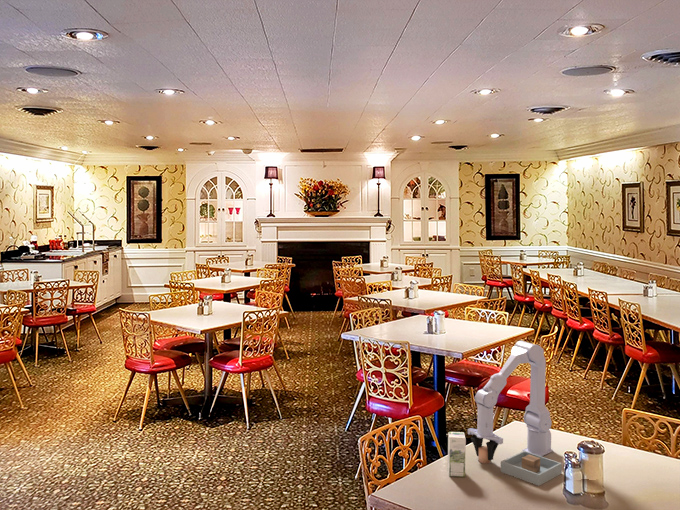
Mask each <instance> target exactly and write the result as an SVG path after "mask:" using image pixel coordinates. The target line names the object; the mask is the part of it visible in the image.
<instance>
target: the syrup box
mask: <svg viewBox="0 0 680 510" xmlns="http://www.w3.org/2000/svg"><path fill="white" fill-rule="evenodd" d="M447 433H448V434H447V436H448V437H447V471H448V476H449V477H457V478H465V477H466V449H467V446H466V445H467V439H466V436H465V432H462V431H461V432H460V431H449V432H447Z"/></svg>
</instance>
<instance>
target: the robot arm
mask: <svg viewBox="0 0 680 510" xmlns="http://www.w3.org/2000/svg"><path fill="white" fill-rule="evenodd" d="M544 351H545V350H544V348H543V347H541V346H540V345H539V344H534V343H531V342H527V341H525V340H518V341H516V342H515V344H514V346H512V348H511V353H510V356H509V357H508V358H507V360H506V361H505V363H504V364H503V366H502V368H501V369H500V371H499V372H497V373H494V374H493V375H491V376H490V379H489V380H488V382H487V383H486V384H485V385H484V386H483V387H482V388H481V389H479V390H477V392H475V393H476V394H475V396H474V397H473V398H474V402H475V403H476V407H477V421H476V422H477V425H476V426H477V428H473V427H470V428H467V435H470V436H471V435H472V436H471V437H470V440H471V443H472V445H473V446H474V450H475V453H476V456H477V457H478V452H479V447H480V446H483V442H484V440H487V442H485V444H486V445H485V446H487V449H488V460H491V461H492V460H494V456H495V453H496V451H497V448H498V446H499V445H503V444H504V438H503V437H501V436H499V435H497V434H495V433H494V406H496V404H497V403H498V398H499V394H501V392H502V391H503V389H504V388H505V387H506V385H507V383H508V382H507V378H509V376H510V375H511V374H512V373H513V372H514V371H515V370H516V369H517V367H518V366H519V365H520V364H529V365H530V382H529V383H530V386H529V388H530V390H529V391H530V393H529V404H528V405H527V406H526V407H525V412H524V414H523V421H524V423H525V425H526V428H527V437H526V438H527V441H526V442H527V444H526V445H527V446H526V448H523V449H522V452H523V451H526V452H529V453H532V454H535V455H538V456H541V457H544V456H546V455H548V454H550V453H552V452H554V449H553V448H552V433H551V427H552V419H551V412H550V411H549V410H548V408H547V407H546V404H545V403H546V371H547V369H546V364H547V363H546V362H547V361H546V357H545V353H544Z"/></svg>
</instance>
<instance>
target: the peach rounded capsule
mask: <svg viewBox="0 0 680 510" xmlns="http://www.w3.org/2000/svg"><path fill="white" fill-rule="evenodd" d="M477 457H478V462H479V463H480V464H484V465H488V464H491V462H492V460H488V449H487V445H482V446H480V447H479V452H478V456H477Z"/></svg>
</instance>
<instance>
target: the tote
mask: <svg viewBox="0 0 680 510" xmlns="http://www.w3.org/2000/svg"><path fill="white" fill-rule="evenodd" d="M527 455H532V456H535V457H538V458H540V471H539V472H537V473H534V472H531V471H528V470H526V469H523V468H522V457H525V456H527ZM562 463H563V462H558V461H556V460H553V459H550V458H547V457H544V456H542V457H541V456H538V455H535V454H532V453H529V452H526V451H523V450H522V451H521V452H519V453H516V454H514V455H512V456H510V457H507V458H506V459H505V458H504V459H503V460H500V473H502V474H505V475H509V476H510V477H513V476H514V478H516V479H519V478H520V479H519V480H521V479H522V481H524V482H527V483H531V484H532V483H533V485H535V486H538V487H540V486H541V485H543V484H545V483H547V482H549V481H550V480H552V479H554V478H556V477H558V476H560V475H562V470H563V469H562V467H563V465H562Z"/></svg>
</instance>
